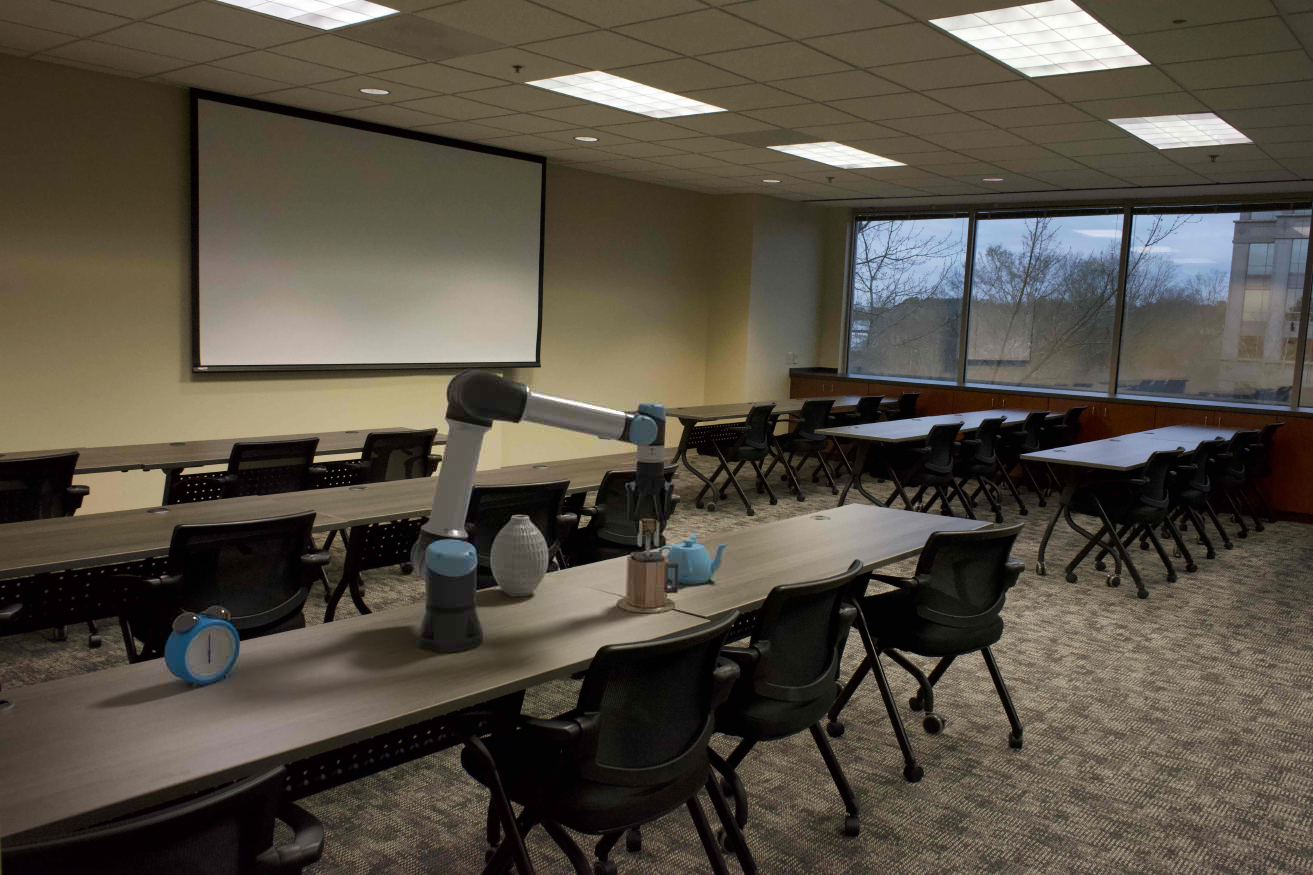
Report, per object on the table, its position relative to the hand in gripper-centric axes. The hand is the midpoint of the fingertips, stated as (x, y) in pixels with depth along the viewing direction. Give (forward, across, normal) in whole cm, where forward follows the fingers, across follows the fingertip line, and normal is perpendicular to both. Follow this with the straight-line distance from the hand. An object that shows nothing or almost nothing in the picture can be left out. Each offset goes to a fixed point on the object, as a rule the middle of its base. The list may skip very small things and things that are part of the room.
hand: (647, 545), depth 254 cm
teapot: (+17, +19, +27) cm, 37 cm away
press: (+17, 0, 0) cm, 17 cm away
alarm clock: (+17, -101, -47) cm, 113 cm away
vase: (+17, -34, +15) cm, 41 cm away
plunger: (+13, 0, 0) cm, 13 cm away
